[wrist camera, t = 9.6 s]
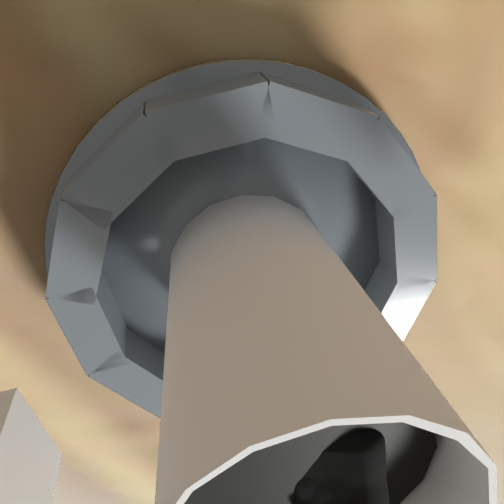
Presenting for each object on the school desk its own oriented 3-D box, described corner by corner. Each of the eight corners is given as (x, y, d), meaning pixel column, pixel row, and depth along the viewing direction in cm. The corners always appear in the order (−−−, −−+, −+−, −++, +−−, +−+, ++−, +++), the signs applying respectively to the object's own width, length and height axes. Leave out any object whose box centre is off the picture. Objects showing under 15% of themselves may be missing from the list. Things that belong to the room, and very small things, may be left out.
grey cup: (336, 169, 16) (534, 380, 7) (335, 323, 19) (471, 591, 11) (139, 196, 15) (108, 461, 7) (173, 350, 19) (180, 659, 10)
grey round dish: (-29, 120, 14) (-62, 143, 12) (413, 10, 15) (454, 14, 13) (127, 422, 21) (123, 469, 19) (422, 341, 22) (449, 378, 20)
